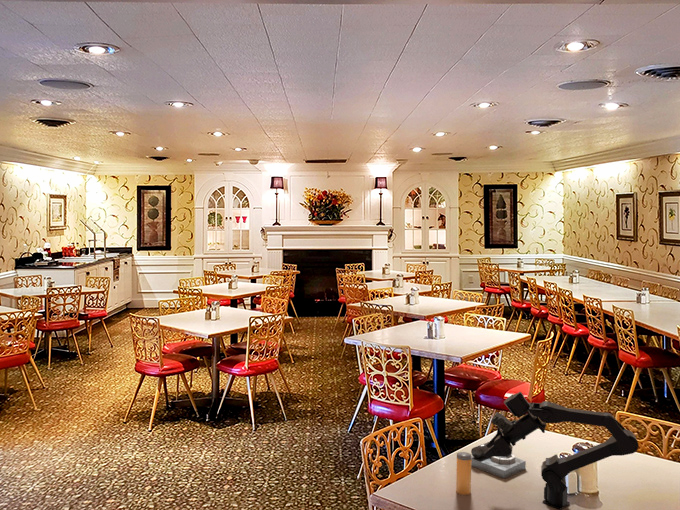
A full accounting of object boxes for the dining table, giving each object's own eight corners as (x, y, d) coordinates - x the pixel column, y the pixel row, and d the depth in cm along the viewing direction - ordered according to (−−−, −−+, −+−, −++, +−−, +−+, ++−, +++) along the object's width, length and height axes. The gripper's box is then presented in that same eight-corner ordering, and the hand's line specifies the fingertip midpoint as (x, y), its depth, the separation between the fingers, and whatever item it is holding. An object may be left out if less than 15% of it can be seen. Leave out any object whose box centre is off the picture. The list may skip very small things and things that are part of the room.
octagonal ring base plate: (525, 468, 219) (525, 450, 218) (504, 478, 210) (504, 459, 209) (490, 456, 231) (490, 439, 231) (468, 465, 222) (468, 447, 222)
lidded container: (473, 492, 199) (474, 455, 198) (464, 496, 196) (465, 458, 195) (462, 487, 203) (462, 450, 202) (453, 491, 199) (453, 454, 199)
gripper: (509, 400, 204) (474, 423, 208) (505, 415, 186) (467, 440, 191) (529, 426, 202) (493, 449, 206) (527, 444, 184) (488, 469, 189)
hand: (485, 451), depth 198 cm, fingers open, 9 cm apart
